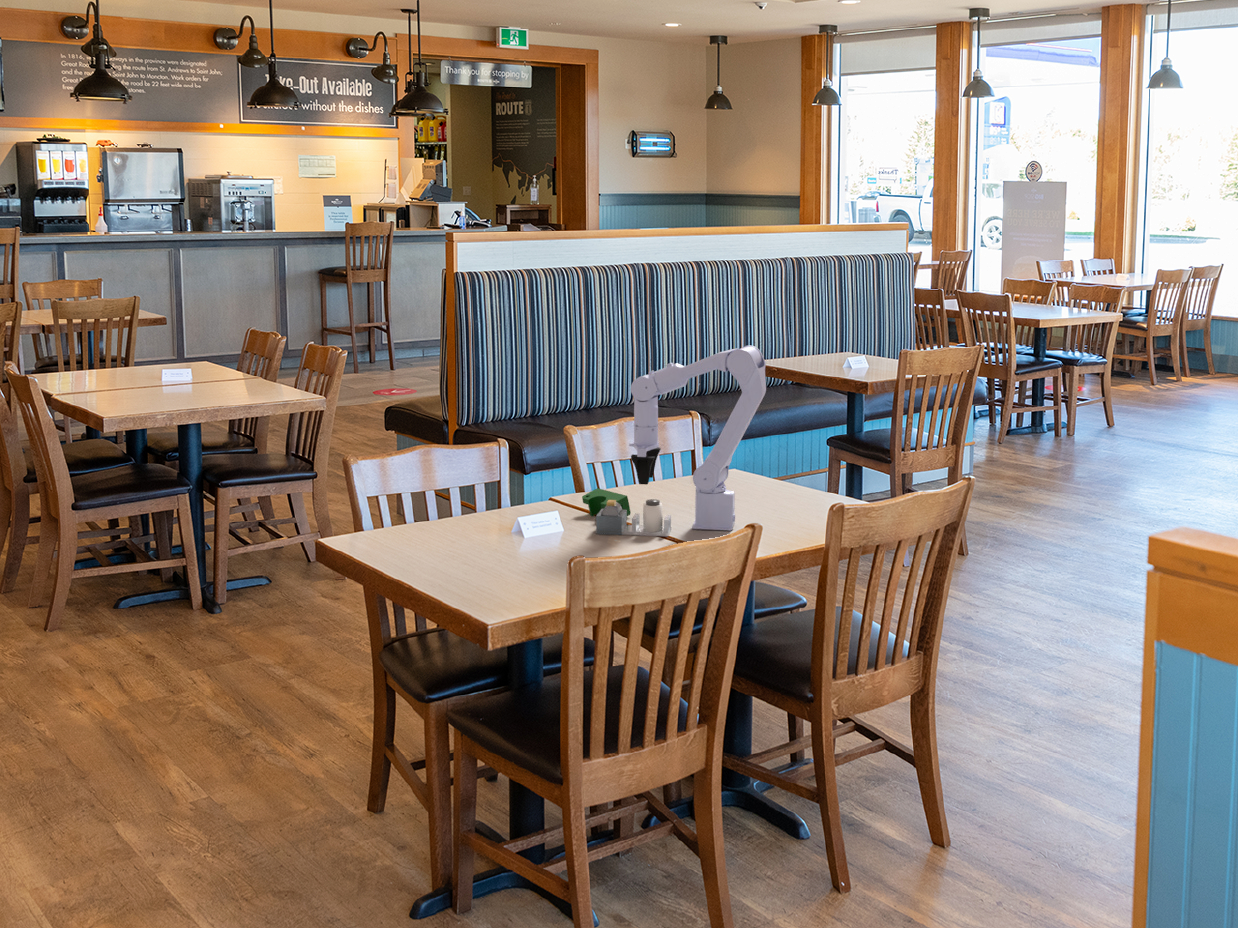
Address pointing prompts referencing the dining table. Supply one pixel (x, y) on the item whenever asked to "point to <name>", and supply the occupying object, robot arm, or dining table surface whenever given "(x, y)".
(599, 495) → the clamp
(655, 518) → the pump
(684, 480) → the dining table surface
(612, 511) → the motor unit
